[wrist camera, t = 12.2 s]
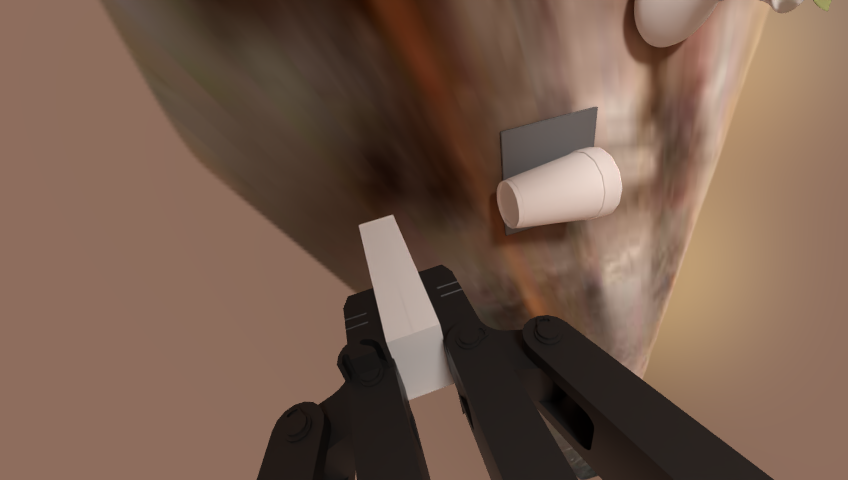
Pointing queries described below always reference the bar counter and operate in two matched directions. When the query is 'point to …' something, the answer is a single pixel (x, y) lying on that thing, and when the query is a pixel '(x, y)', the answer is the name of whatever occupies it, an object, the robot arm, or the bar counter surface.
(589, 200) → the foam cup
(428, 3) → the bar counter surface
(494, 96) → the bar counter surface
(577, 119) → the mat
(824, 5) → the flower in vase
